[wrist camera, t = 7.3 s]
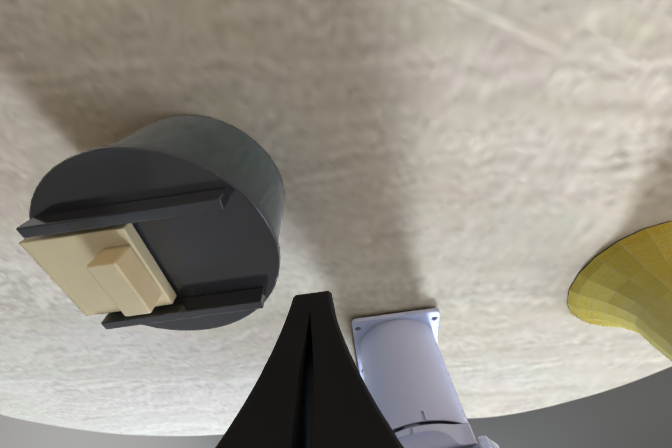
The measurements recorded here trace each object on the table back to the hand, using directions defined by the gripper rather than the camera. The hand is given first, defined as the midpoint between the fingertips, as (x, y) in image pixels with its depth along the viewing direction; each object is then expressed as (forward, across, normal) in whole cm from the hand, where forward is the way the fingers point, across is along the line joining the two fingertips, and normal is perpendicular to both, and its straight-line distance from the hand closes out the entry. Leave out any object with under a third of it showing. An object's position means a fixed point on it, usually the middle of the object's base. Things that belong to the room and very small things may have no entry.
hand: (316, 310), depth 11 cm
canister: (+10, +7, -1) cm, 12 cm away
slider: (+3, +10, -1) cm, 10 cm away
